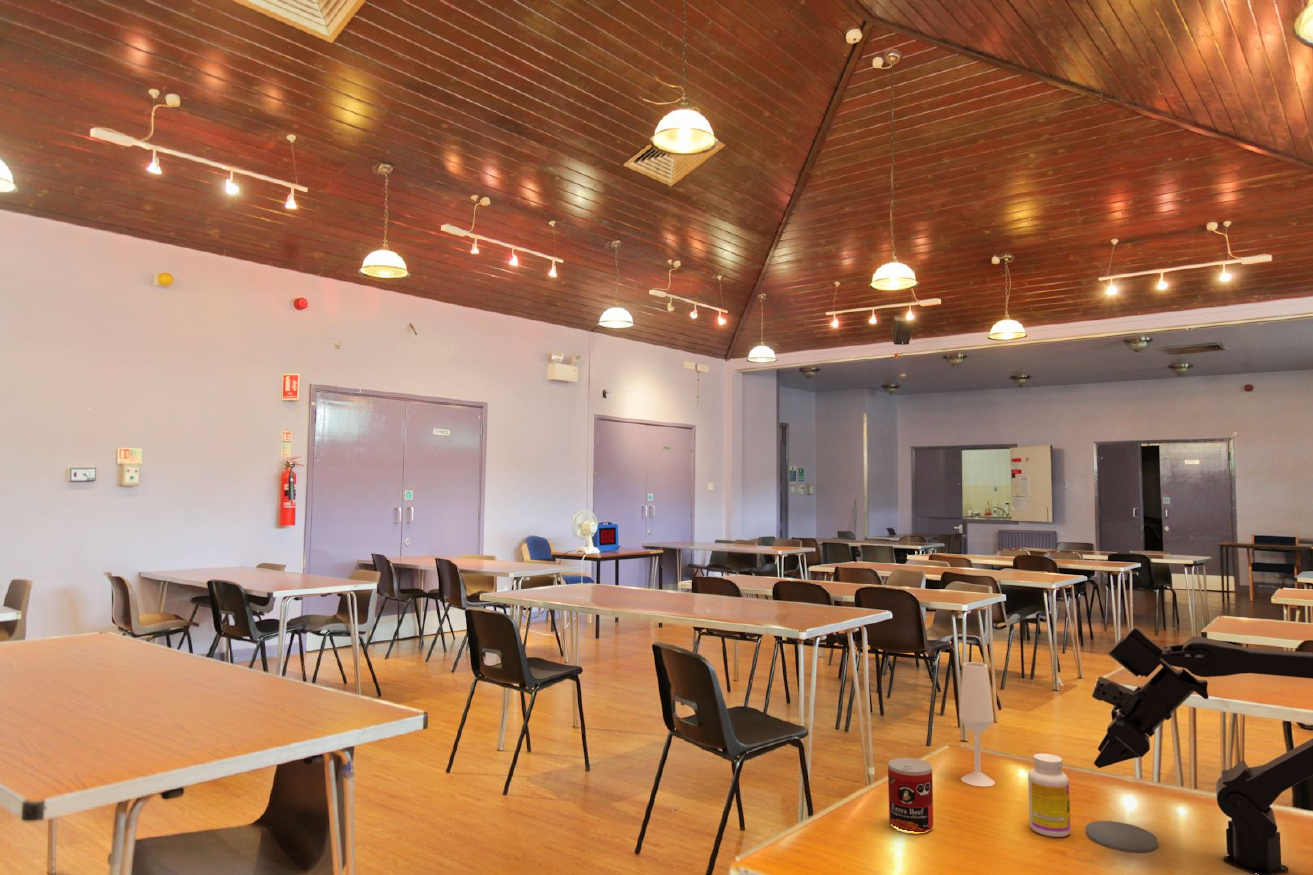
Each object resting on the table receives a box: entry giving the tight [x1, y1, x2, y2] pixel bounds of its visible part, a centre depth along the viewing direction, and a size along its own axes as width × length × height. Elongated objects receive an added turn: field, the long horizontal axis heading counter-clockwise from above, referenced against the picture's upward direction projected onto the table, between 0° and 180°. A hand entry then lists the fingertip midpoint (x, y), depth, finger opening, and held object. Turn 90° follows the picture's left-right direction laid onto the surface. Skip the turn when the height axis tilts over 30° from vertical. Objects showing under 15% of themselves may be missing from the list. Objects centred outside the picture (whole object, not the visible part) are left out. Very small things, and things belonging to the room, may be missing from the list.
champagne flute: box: [959, 661, 996, 787], centre depth 173 cm, size 7×7×24 cm
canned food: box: [887, 757, 934, 832], centre depth 149 cm, size 8×8×11 cm
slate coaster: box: [1085, 820, 1159, 853], centre depth 144 cm, size 11×11×1 cm
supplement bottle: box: [1027, 753, 1071, 838], centre depth 148 cm, size 7×7×13 cm
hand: (1098, 758), depth 146 cm, fingers open, 9 cm apart
